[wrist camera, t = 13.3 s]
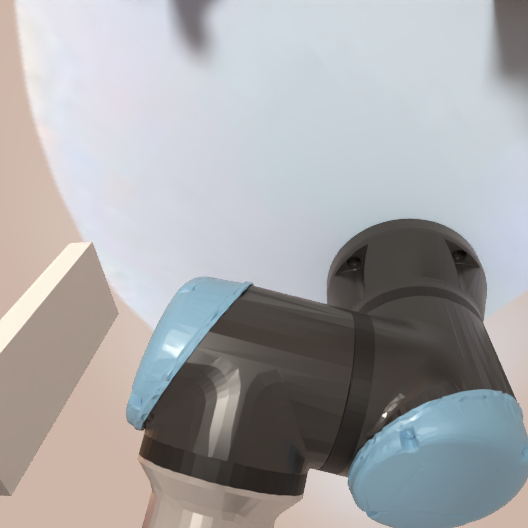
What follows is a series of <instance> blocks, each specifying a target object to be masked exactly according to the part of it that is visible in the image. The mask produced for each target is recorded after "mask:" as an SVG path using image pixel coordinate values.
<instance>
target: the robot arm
mask: <svg viewBox="0 0 528 528" xmlns="http://www.w3.org/2000/svg"><path fill="white" fill-rule="evenodd" d="M486 296H487V283H486V277H485V273H484V270H483V268H482V265H481V263H480V261H479V259H478V257H477V255H476V253H475V251H474V249H473V248H472V247H471V245H470V244H469V243H468V242H467V241H466V240H465V239H464V238H463V237H462V236H461V235H459V234H458V233H457V232H455V231H453V230H452V229H450V228H448V227H446V226H444V225H441V224H438V223H435V222H431V221H427V220H420V219H399V220H392V221H387V222H383V223H380V224H377V225H374V226H372V227H370V228H368V229H366V230H364V231H362V232H360V233H359V234H357V235H356V236H354V237H353V238H352V239H350V240H349V241H348V242H347V243H346V244H345V245H344V246H343V247H342V248H341V249H340V251H339V252H338V253H337V255H336V257H335V258H334V260H333V262H332V264H331V267H330V270H329V273H328V279H327V302H328V304H323V303H319V302H315V301H311V300H307V299H303V298H299V297H295V296H291V295H287V294H283V293H279V292H275V291H271V290H267V289H263V288H259V287H256V286H253V283H251V282H245V283H238V282H233V281H228V280H222V279H217V278H212V277H198V278H194V279H192V280H190V281H189V282H187V283H186V284H185V285H183V286H182V287H181V288H180V289H179V290H178V292H177V293H176V294H175V296H174V297H173V299H172V300H171V302H170V303H169V305H168V306H167V308H166V310H165V311H164V313H163V315H162V317H161V319H160V321H159V323H158V325H157V327H156V329H155V331H154V333H153V335H152V337H151V339H150V341H149V343H148V346H147V348H146V350H145V353H144V355H143V358H142V360H141V363H140V365H139V368H138V371H137V373H136V376H135V379H134V382H133V386H132V393H131V396H130V399H129V401H128V404H127V409H126V418H127V421H128V423H130V424H131V425H133V426H134V427H135V429H136V430H144V429H145V434H144V438H143V441H142V445H141V448H140V452H139V456H138V460H139V462H140V464H141V466H142V468H143V469H144V471H145V473H146V475H147V477H148V479H149V480H150V483H151V487H152V493H151V496H150V500H149V504H148V507H147V511H146V515H145V519H144V522H143V526H142V528H273V527H274V522H275V520H276V518H277V517H278V516H279V514H281V513H282V512H284V511H285V510H286V509H288V508H290V507H291V506H292V505H294V504H295V503H297V502H298V501H300V500H301V499H302V498H303V493H304V488H305V483H306V478H307V473H308V471H309V469H310V468H312V469H316V470H320V471H325V472H329V473H333V474H336V475H341V476H345V477H348V486H349V490H350V491H351V494H352V495H353V498H354V501H355V503H356V504H357V506H358V507H359V508H360V509H361V510H362V511H366V513H367V515H368V517H370V518H371V519H373V520H375V521H376V522H379V523H381V524H384V525H387V526H390V527H393V528H453V527H457V526H461V525H465V524H467V523H469V522H472V521H476V520H479V519H481V518H484V517H486V516H488V515H490V514H492V513H494V512H495V511H497V510H499V509H500V508H501V507H503V506H504V505H506V504H507V503H508V502H509V501H511V500H512V498H514V497H515V496H516V495H517V493H518V492H519V491H520V490H521V488H522V487H523V485H524V484H525V482H526V480H527V478H528V437H527V433H526V430H525V427H524V424H523V413H522V409H521V408H520V406H519V403H517V400H516V398H515V396H514V393H513V391H512V389H511V386H510V384H509V382H508V380H507V377H506V375H505V373H504V370H503V368H502V366H501V363H500V361H499V359H498V356H497V354H496V352H495V349H494V347H493V345H492V343H491V340H490V338H489V336H488V333H487V331H486V329H485V327H484V324H483V320H484V312H485V304H486ZM117 315H118V311H117V308H116V305H115V302H114V300H113V297H112V294H111V292H110V289H109V286H108V283H107V281H106V278H105V275H104V273H103V270H102V267H101V264H100V262H99V259H98V256H97V254H96V251H95V248H94V245H93V243H92V242H83V243H70V244H68V246H67V247H66V248H65V249H64V250H63V251H62V253H60V254H59V256H58V257H57V258H56V259H55V260H54V261H53V263H51V265H50V266H49V267H48V268H47V269H46V270H45V271H44V272H43V273H42V275H41V276H40V277H39V278H38V279H37V280H36V281H35V282H34V283H33V285H32V286H31V287H30V288H29V289H28V290H27V291H26V292H25V293H24V295H23V296H22V297H21V298H20V299H19V300H18V301H17V302H16V303H15V305H14V306H13V307H12V308H11V309H10V310H9V311H8V312H7V313H6V315H5V316H4V317H3V318H2V319H1V320H0V495H4V496H11V495H12V493H13V492H14V490H15V488H16V487H17V485H18V483H19V482H20V480H21V478H22V476H23V475H24V473H25V471H26V470H27V468H28V466H29V465H30V463H31V461H32V460H33V458H34V456H35V454H36V453H37V451H38V449H39V448H40V446H41V444H42V442H43V441H44V439H45V437H46V436H47V434H48V432H49V431H50V429H51V427H52V426H53V424H54V422H55V421H56V419H57V417H58V415H59V414H60V412H61V410H62V409H63V407H64V405H65V404H66V402H67V400H68V398H69V397H70V395H71V393H72V392H73V390H74V388H75V387H76V385H77V383H78V382H79V380H80V378H81V376H82V375H83V373H84V371H85V370H86V368H87V366H88V365H89V363H90V361H91V359H92V358H93V356H94V354H95V353H96V351H97V349H98V348H99V346H100V344H101V342H102V341H103V339H104V337H105V336H106V334H107V332H108V331H109V329H110V327H111V326H112V324H113V322H114V321H115V318H116V317H117Z"/></svg>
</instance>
